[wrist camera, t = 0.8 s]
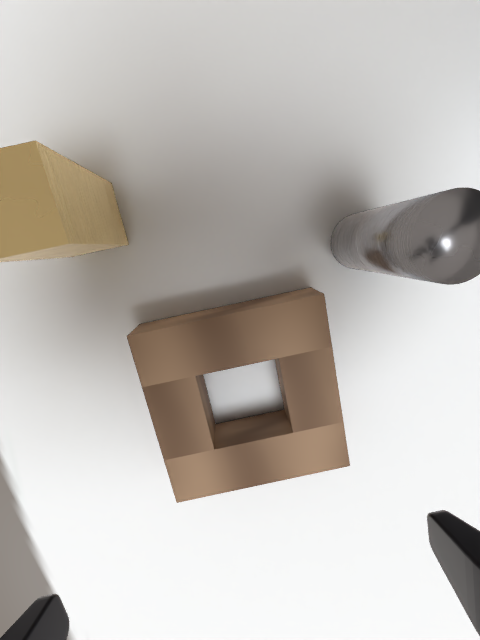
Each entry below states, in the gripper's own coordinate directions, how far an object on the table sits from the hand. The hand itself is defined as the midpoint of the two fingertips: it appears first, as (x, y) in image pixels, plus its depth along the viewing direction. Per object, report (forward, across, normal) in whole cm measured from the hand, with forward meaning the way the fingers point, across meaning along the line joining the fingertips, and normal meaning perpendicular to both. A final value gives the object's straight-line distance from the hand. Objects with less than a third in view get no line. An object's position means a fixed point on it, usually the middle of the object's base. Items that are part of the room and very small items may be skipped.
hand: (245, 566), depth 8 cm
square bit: (+12, +6, -10) cm, 17 cm away
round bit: (+12, -8, -6) cm, 16 cm away
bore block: (+12, 0, +1) cm, 12 cm away
